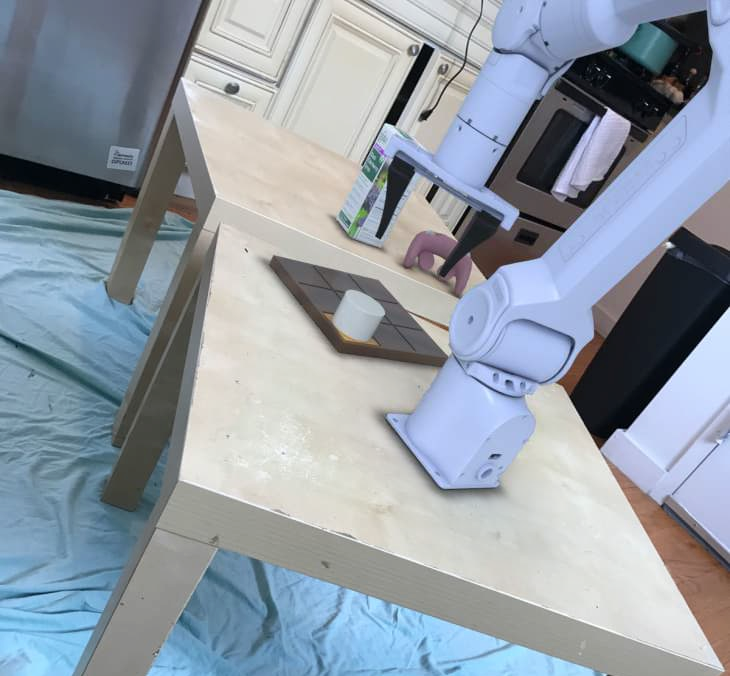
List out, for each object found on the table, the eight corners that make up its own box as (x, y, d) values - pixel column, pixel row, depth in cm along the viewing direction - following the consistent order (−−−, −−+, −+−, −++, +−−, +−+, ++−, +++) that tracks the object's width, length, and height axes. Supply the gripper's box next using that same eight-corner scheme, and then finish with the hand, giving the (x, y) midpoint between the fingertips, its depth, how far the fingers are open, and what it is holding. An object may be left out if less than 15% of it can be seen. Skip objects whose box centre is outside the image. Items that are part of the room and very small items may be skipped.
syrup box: (334, 218, 106) (383, 120, 99) (366, 230, 110) (416, 136, 102) (349, 238, 103) (400, 137, 95) (382, 250, 106) (434, 153, 99)
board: (445, 367, 85) (450, 358, 84) (338, 352, 74) (344, 341, 73) (374, 288, 93) (379, 279, 92) (268, 264, 82) (273, 254, 81)
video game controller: (454, 299, 111) (476, 256, 110) (462, 297, 106) (485, 252, 106) (396, 267, 109) (418, 223, 108) (402, 263, 104) (425, 217, 104)
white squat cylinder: (378, 344, 77) (393, 318, 75) (345, 339, 73) (360, 312, 72) (356, 319, 79) (370, 293, 77) (323, 313, 76) (337, 286, 74)
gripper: (544, 164, 75) (471, 279, 82) (420, 86, 74) (357, 211, 81) (547, 175, 69) (468, 299, 76) (413, 91, 68) (345, 225, 75)
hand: (410, 255), depth 78 cm, fingers open, 7 cm apart
